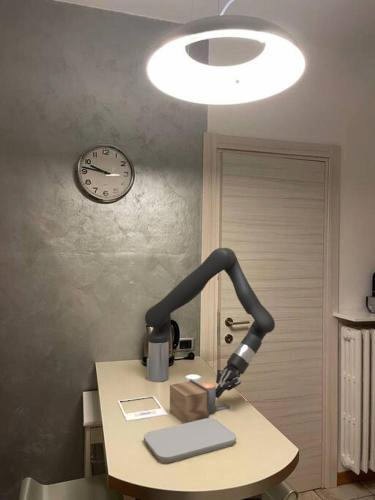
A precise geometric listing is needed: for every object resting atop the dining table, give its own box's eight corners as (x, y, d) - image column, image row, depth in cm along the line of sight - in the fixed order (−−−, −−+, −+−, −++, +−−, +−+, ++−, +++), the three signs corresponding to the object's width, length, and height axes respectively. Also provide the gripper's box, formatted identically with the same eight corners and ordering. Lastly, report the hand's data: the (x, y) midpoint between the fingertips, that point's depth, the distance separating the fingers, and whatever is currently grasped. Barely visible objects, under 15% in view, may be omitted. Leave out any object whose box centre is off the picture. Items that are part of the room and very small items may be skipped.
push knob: (209, 404, 140) (209, 380, 140) (218, 410, 134) (218, 385, 134) (196, 408, 137) (196, 383, 137) (204, 414, 132) (204, 388, 132)
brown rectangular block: (218, 400, 145) (218, 373, 146) (237, 412, 135) (237, 383, 135) (169, 412, 135) (169, 383, 135) (186, 426, 124) (186, 394, 124)
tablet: (140, 440, 116) (140, 433, 116) (212, 423, 127) (212, 416, 127) (161, 467, 101) (161, 459, 101) (240, 445, 113) (240, 437, 113)
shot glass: (181, 394, 152) (181, 377, 152) (189, 389, 158) (189, 372, 158) (196, 397, 148) (196, 380, 149) (204, 392, 155) (204, 375, 155)
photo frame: (126, 420, 127) (117, 400, 144) (126, 423, 127) (117, 403, 144) (167, 413, 133) (153, 395, 149) (167, 416, 133) (153, 398, 149)
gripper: (225, 348, 148) (199, 385, 142) (246, 356, 136) (219, 397, 130) (236, 359, 151) (211, 396, 145) (257, 368, 139) (231, 408, 133)
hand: (215, 396), depth 137 cm, fingers closed
